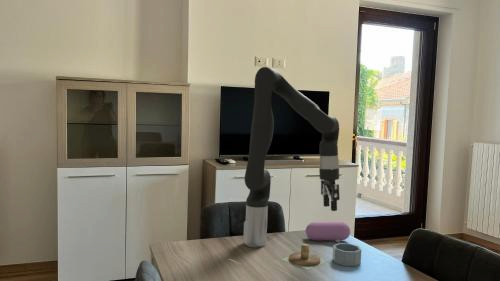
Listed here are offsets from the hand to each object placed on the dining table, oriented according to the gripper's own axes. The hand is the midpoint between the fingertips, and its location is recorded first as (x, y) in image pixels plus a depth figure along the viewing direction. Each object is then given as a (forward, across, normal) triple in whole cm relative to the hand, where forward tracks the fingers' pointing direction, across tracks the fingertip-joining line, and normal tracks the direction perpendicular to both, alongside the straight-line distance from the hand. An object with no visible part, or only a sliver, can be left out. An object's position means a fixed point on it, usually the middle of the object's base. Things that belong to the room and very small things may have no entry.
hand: (330, 208), depth 160 cm
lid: (+19, +1, -11) cm, 22 cm away
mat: (+20, +1, -11) cm, 23 cm away
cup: (+21, +3, +5) cm, 22 cm away
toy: (+20, -24, +7) cm, 32 cm away
